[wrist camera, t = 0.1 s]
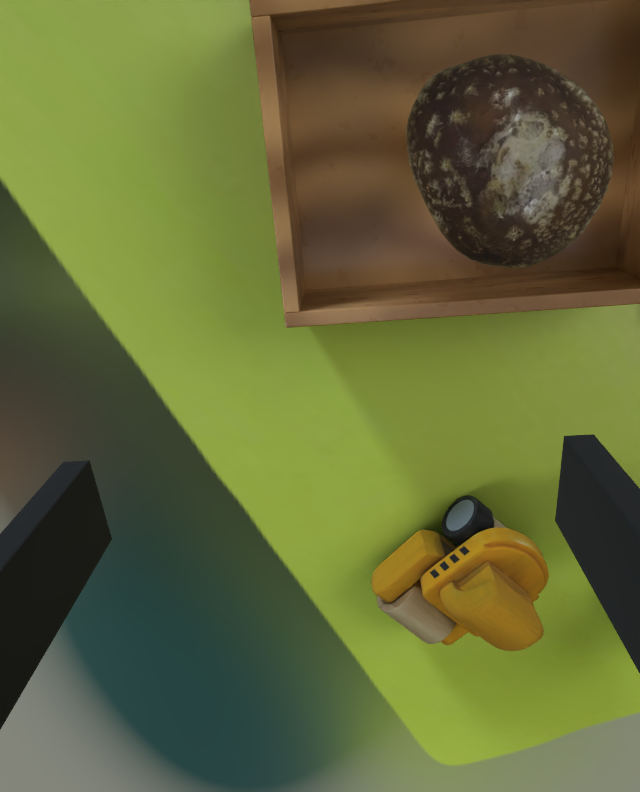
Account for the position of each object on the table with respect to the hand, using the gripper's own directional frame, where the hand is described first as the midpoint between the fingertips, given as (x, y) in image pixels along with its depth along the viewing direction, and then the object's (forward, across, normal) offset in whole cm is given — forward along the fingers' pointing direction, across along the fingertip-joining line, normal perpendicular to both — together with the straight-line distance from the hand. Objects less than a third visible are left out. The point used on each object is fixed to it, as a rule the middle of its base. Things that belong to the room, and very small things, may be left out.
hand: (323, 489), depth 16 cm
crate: (+28, +9, +7) cm, 30 cm away
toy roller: (+28, +9, -26) cm, 39 cm away
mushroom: (+28, +9, +7) cm, 30 cm away
